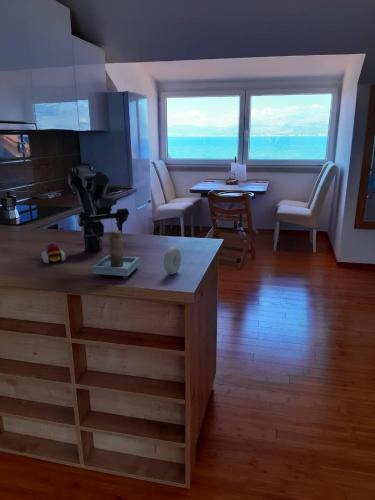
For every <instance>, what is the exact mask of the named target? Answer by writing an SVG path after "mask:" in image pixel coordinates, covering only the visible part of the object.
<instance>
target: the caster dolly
mask: <svg viewBox="0 0 375 500" xmlns="http://www.w3.org/2000/svg"><path fill="white" fill-rule="evenodd" d="M140 265H141V258H140V257H138V256H137V257H135V256H123V266H122V267H111V260H110V255H105V257H103V258H102V259H101V260H99V261H98V262H96V263H95V264H94V265H92V267H91V268H92V269H91V270H92V275H93V274H95V276H96V278H97V279H98V278H101V277H102V275H109V276H122V279H123V280H129V275H130V274H132V273H133V272H134V271H137V270H138V267H139V266H140Z"/></svg>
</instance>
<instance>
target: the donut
mask: <svg viewBox="0 0 375 500" xmlns="http://www.w3.org/2000/svg"><path fill="white" fill-rule="evenodd" d="M181 263H182V254H181V251H180V249H179V248H178V247H177V246H170V247H169V248H168V249H167V250H166V251H165V254H164V256H163V268H164V271H165V272H166V274H169V275H174V274H176V273H177V272H178V271H179V270H180V267H181V265H182V264H181Z"/></svg>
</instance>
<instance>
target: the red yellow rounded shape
mask: <svg viewBox="0 0 375 500" xmlns="http://www.w3.org/2000/svg"><path fill="white" fill-rule="evenodd" d="M41 259H42V260H43V262H44V263H45V264H49V263H50V262H58V261H61V262H64V261H65V260H66V259H67V255H66V253H65V252H64V250H63V249H61V248H60V246H59V245H58V243H55V242H50V243H48V244H47V246H46V250H44V251H42V252H41Z"/></svg>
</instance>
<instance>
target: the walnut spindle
mask: <svg viewBox="0 0 375 500" xmlns="http://www.w3.org/2000/svg"><path fill="white" fill-rule="evenodd" d="M122 235H123V234H122ZM122 235H121V231H119V230H110V231H108V243H109V256H110V260H111V267H122V266H123V257H124V256H123V242H122V241H123V238H122Z"/></svg>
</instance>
